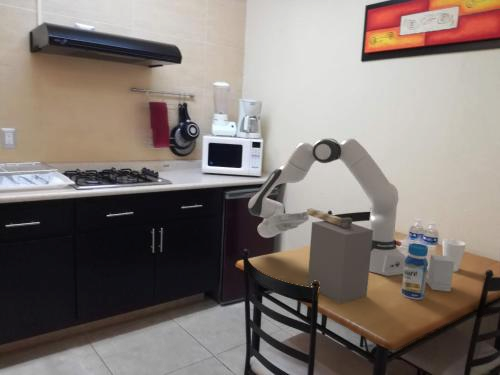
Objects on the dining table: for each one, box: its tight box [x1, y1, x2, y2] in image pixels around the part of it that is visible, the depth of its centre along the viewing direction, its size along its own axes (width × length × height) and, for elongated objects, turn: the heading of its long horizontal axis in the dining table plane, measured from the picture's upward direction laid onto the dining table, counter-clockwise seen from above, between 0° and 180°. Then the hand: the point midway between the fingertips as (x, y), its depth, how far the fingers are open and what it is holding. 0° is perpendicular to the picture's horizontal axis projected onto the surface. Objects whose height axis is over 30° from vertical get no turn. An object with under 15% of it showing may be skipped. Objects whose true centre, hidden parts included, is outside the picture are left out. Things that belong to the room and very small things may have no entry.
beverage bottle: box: [400, 243, 429, 300], centre depth 150 cm, size 8×8×20 cm
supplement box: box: [426, 254, 454, 292], centre depth 160 cm, size 7×7×13 cm
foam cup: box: [441, 238, 467, 273], centre depth 181 cm, size 10×9×13 cm
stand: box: [307, 220, 373, 305], centre depth 151 cm, size 18×14×26 cm
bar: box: [306, 208, 353, 228], centre depth 155 cm, size 22×4×3 cm, turn 32°
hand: (297, 214), depth 171 cm, fingers open, 8 cm apart
